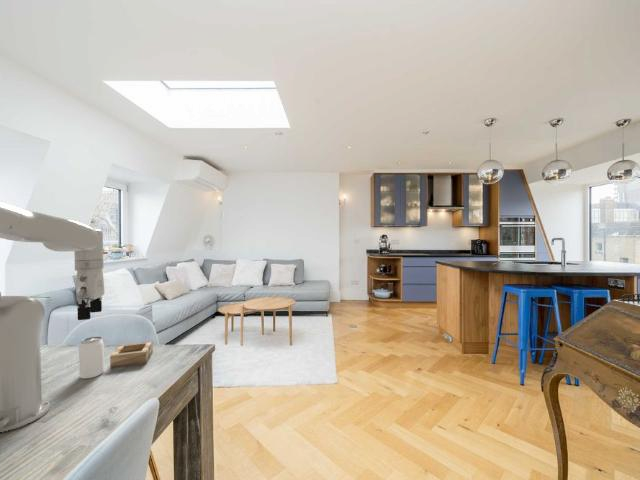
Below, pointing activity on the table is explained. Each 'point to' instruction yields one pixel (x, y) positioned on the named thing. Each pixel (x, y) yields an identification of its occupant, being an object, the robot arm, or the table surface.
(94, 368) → the can
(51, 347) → the table surface
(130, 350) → the socket block
